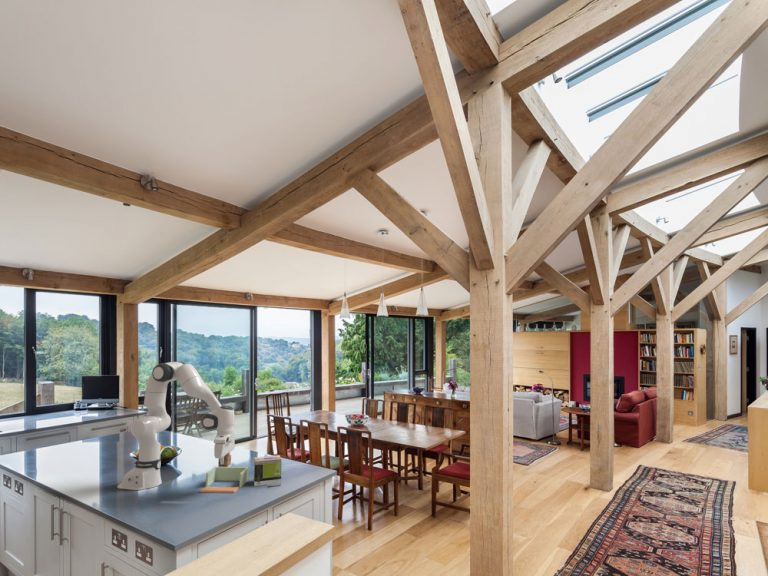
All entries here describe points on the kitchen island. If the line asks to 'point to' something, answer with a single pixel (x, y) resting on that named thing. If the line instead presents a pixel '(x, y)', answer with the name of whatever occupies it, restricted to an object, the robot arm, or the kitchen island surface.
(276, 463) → the tea box
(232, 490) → the board
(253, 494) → the kitchen island surface
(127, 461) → the kitchen island surface
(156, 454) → the robot arm
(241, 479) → the box
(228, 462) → the walnut block
